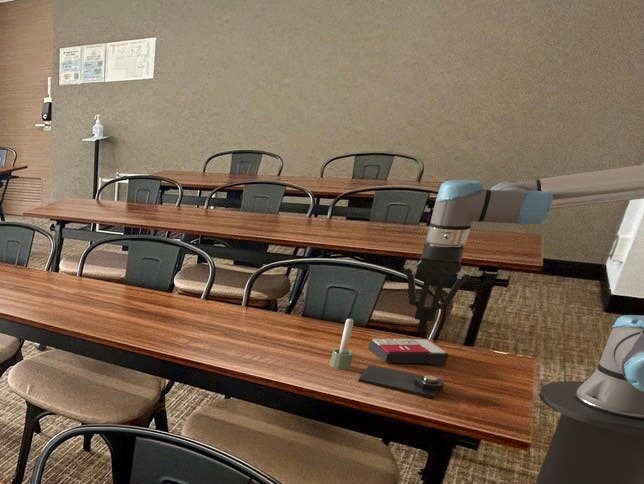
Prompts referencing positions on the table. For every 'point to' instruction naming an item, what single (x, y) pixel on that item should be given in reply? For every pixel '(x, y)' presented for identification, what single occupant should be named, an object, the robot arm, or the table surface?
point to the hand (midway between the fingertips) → (420, 331)
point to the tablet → (400, 381)
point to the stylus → (346, 336)
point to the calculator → (408, 351)
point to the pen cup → (341, 360)
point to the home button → (430, 379)
